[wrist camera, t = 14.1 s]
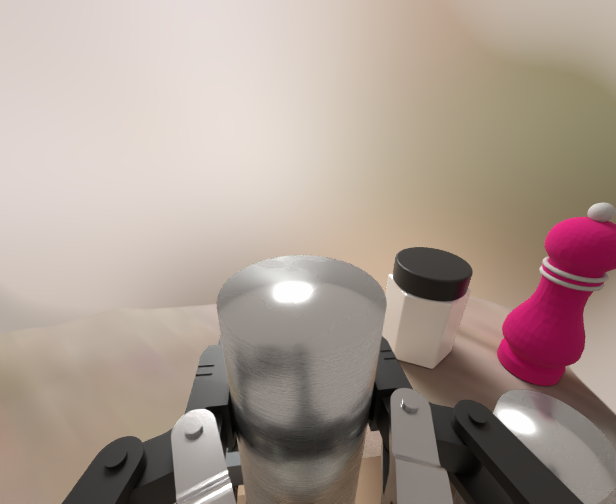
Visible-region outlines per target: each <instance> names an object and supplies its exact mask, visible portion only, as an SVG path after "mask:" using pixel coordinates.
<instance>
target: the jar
mask: <svg viewBox="0 0 616 504" xmlns="http://www.w3.org/2000/svg"><path fill="white" fill-rule="evenodd" d="M471 276H472V268H471V266H470V265H469V264H468V263H467V262H466V261H465V260H463V259H462V258H460V257H458V256H456V255H454V254H452V253H449V252H446V251H443V250H439V249H433V248H424V247H415V248H408V249H404V250H402V251H400V252H399V253H398V254H397V255H396V257H395V263H394V270H393V273H391V274H389V276H388V282H387V288H386V294H385V296H386V302H387V307H386V313H385V319H384V325H383V332H382V336H383V337H384V338H385V339H386V340H387V341H388V343H389V345H390V347H391V349H392V352H394V354H395V356H396V359H398V360H401V361H405V362H408V363H412V364H416V365H419V366H423V367H426V368H430V369H433V368H434V367H435V366H436V365H437V364H438V363H439V362H440V361H442V360H443V359H444V358H445V357H446V356H447V355H448V354H449V353H450V352H451V350H452V347H453V344H454V341H455V338H456V335H457V332H458V329H459V325H460V322H461V319H462V316H463V313H464V310H465V307H466V304H467V300H468V297H469V294H470V289H468V286H469V283H470V280H471Z"/></svg>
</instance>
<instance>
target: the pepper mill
mask: <svg viewBox="0 0 616 504" xmlns="http://www.w3.org/2000/svg"><path fill="white" fill-rule="evenodd" d="M615 213H616V211H615V208H614V207H613V206H612V205H610V204H608V203H598V204H595V205H593V206H592V207H591V208H590V209H589V210H588V217H576V218H571V219H567V220H564V221H562V222H560V223H558V224H557V225H555V226H554V227H553V228H552V229H551V230H550V232H549V233H548V235H547V237H546V240H545V249H546V251H547V253H548V255H549V257H546V258H544V259H543V265H542V266H541V267H540V272H541V274H542V278H541V281H540V284H539V286H538V288H537V290H536V291H535V293H534V294H533V295H532V296H531V297H530V298H529V299H528V300H526V301H525V302H524V303H522V304H521V305H519V306H518V307H517V308H515V309H514V310H512V312H511V313H510V314H509V315H508V316H507V318H506V319H505V321H504V323H503V327H502V331H503V335H504V339H503V340H502V341H501V343H500V346H499V348H498V351H497V356H498V359H499V360H500V362H501V363H502V365H503V366H504V367H505V368H506V369H507V370H508V371H510V372H511V373H512V374H514V375H515V376H517V377H518V378H520V379H522V380H524V381H527V382H529V383H533V384H536V385H542V386H550V385H554V384H556V383H558V382H559V380H560V379H561V377H562V375H563V373H564V372H565V366H568V365H571V364H574V363H575V362H577V361H578V360H579V359H580V357H581V355H582V352H583V350H584V346H585V331H584V323H583V311H584V307H585V304H586V302H587V300H588V298H589V296H590V295H591V294H592V292H593V291H597V290H600V289H602V288H603V287H604V284H603V283H604V282H605V281H607V279H608V275H607V273H606V272H607V271H610V270H613V269H616V224H614V223H612V222H609V220H610V219H612V218H613V217H614V215H615Z"/></svg>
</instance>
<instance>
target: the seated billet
mask: <svg viewBox="0 0 616 504" xmlns="http://www.w3.org/2000/svg"><path fill="white" fill-rule="evenodd" d="M493 414H494V415H495V416H496V417H497V418H498V419H499V420H500V421H501V422H502V423H503V424H504V425H505V426H506V427H507V428H508V429H509V430H510V431H511V432H512V433H513V434H514V435H515V436H516V437H517V438H518V439H519V440H520V441H521V442H522V443H523V444H524V445H525V446H526V447H527V448H528V449H529V450H530V451H531V452H532V453H533V454H534V455H535V456H536V457H537V458H538V459H539V460H540V461H541V462H542V463H543V464H544V465H545V466H546V467H548V468H549V469H550V470H551V471H552V472H553V473H554V474H555V475H556V476H557V477H558V478H559V479H560V480H561V481H562V482H563V483H564V484H565V485H566V486H567V487H568V488H569V489H570V490H571V491H572V492H573V493H574V494H575V495H576V496H577V497H578V498H579V499H580V500H581V501H582V502H583V503H584V504H601V502H602V501H603V500H604V499H605V498H606V497H607V496H608V495H609V494H610V493H611V492H612V491H613V489H614V488H615V487H616V450H615V448H614V447H613V445H612V444H611V442H610V441H609V440H608V438H607V437H606V436H605V435H604V434H603V433H602V432H601V431H600V430H599V428H598V427H597V426H595V425H594V424H593V423H592V422H591V421H590V420H589V419H587V418H586V417H585V416H584V415H582V414H581V413H579V412H578V411H577V410H575V409H574V408H572V407H570V406H569V405H567V404H565V403H564V402H562V401H560V400H558V399H556V398H553V397H551V396H549V395H546V394H543V393H540V392H536V391H532V390H524V389H517V390H511V391H508V392H506V393H504V394H503V395H502V396H501V397H500V399H499V400H498V402H497V404H496V407H495V409H494V411H493ZM453 504H466V502H465V501H464V500H463V498H462V497H461V495H460V494H459V493H458V491H457V490H456V493H455V495H454V497H453Z"/></svg>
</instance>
